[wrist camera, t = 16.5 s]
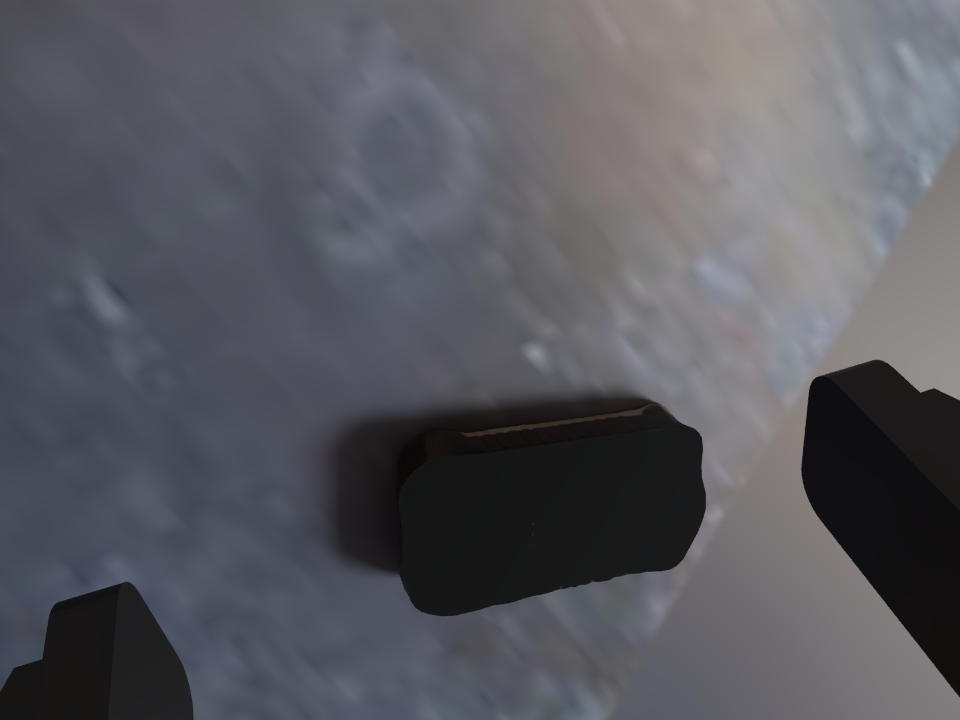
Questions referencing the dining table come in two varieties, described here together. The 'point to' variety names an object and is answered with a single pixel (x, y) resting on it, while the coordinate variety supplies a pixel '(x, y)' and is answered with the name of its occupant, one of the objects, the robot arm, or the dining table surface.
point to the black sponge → (545, 507)
